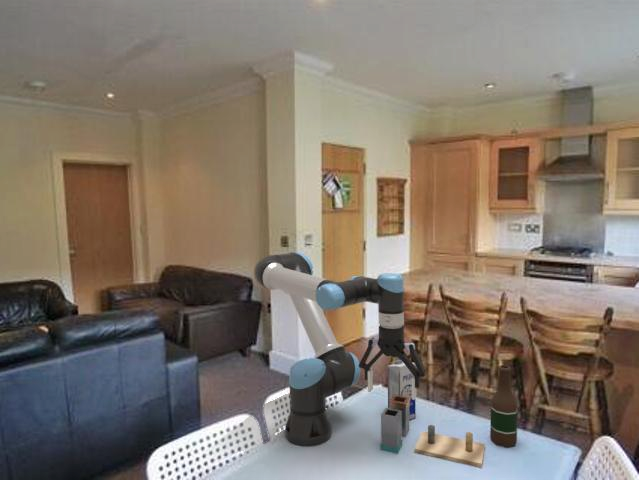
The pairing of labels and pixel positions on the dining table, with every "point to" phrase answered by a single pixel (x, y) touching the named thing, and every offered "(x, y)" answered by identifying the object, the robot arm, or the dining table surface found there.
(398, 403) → the sleeve rust
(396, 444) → the grey rectangular box
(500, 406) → the beer bottle
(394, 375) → the milk carton
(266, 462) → the dining table surface
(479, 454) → the pin board
